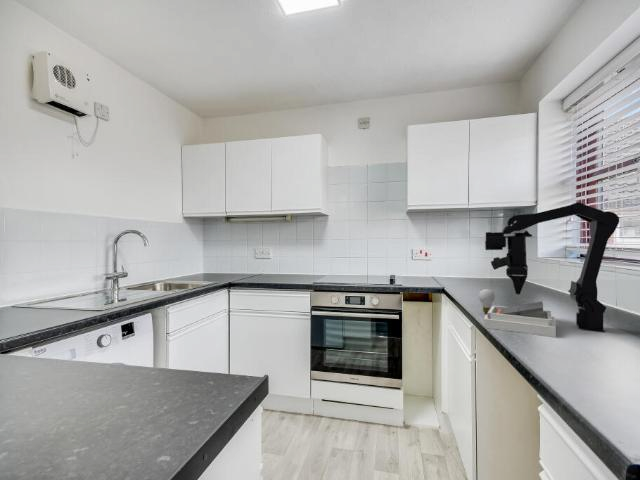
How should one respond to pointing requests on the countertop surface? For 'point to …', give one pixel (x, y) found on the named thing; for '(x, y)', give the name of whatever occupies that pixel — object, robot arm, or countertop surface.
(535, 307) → the panel
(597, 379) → the countertop surface
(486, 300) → the light bulb
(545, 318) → the breaker box
